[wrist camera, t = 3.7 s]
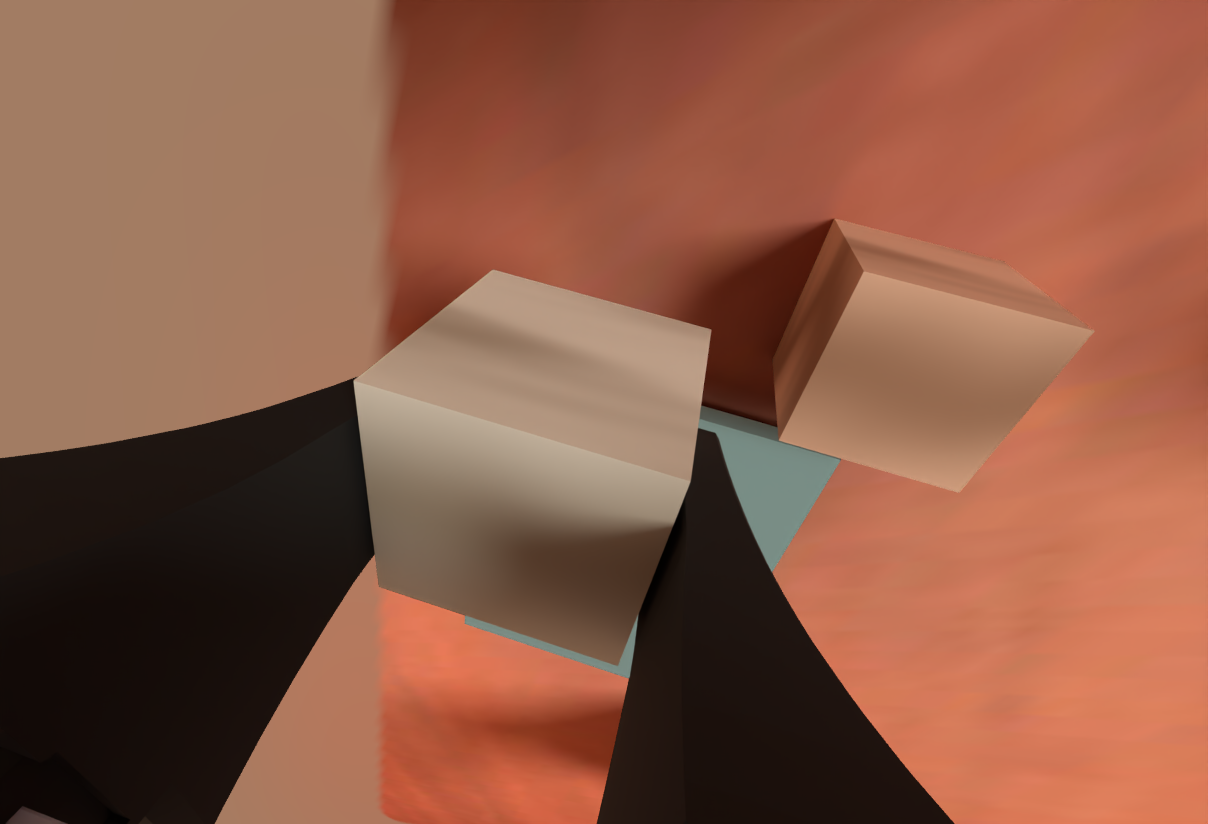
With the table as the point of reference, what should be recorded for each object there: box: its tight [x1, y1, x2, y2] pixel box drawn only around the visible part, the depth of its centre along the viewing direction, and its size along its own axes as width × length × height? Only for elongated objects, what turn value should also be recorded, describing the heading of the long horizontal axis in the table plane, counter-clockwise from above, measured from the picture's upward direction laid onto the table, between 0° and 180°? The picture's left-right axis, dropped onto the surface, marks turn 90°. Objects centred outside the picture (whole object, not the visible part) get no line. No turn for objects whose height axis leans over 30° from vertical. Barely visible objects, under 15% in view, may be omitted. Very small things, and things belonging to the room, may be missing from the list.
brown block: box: [772, 218, 1094, 493], centre depth 13 cm, size 4×4×4 cm
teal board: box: [465, 406, 841, 678], centre depth 22 cm, size 16×12×2 cm
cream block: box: [354, 270, 712, 666], centre depth 10 cm, size 4×4×4 cm
